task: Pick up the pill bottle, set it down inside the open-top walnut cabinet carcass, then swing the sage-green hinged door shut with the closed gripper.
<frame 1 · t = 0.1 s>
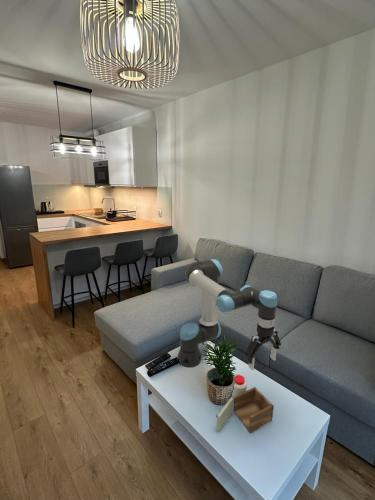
hand: (262, 363, 124), 28 cm above the table, fingers open, 13 cm apart
pill bottle: (238, 395, 140), on the table
carcass: (252, 415, 129), on the table
door: (224, 412, 125), point 5 cm above the table, hinge at 65.0°
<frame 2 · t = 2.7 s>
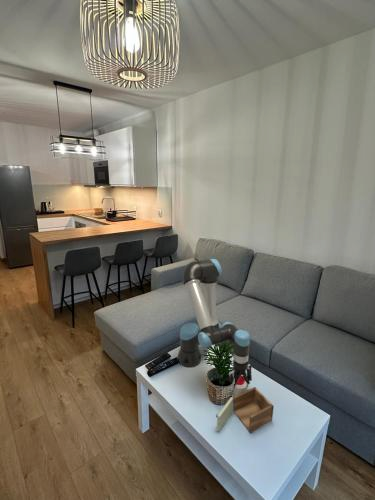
hand: (238, 394, 140), 0 cm above the table, fingers closed on pill bottle, 8 cm apart
pill bottle: (238, 395, 140), on the table, touching gripper
everything else where it was.
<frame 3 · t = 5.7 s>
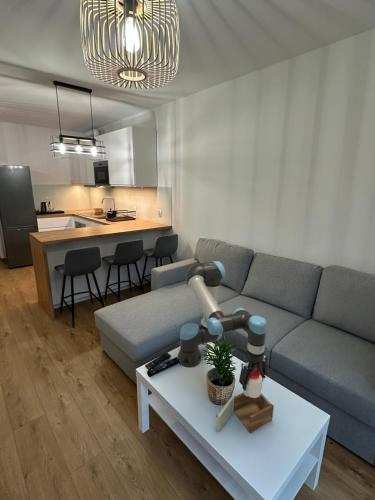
hand: (252, 390, 123), 16 cm above the table, fingers closed on pill bottle, 8 cm apart
pill bottle: (252, 391, 124), point 15 cm above the table, touching gripper
everything else where it was.
when the fingers open (3 cm above the table, at t = 8.3 s): pill bottle drops 2 cm, resting on carcass.
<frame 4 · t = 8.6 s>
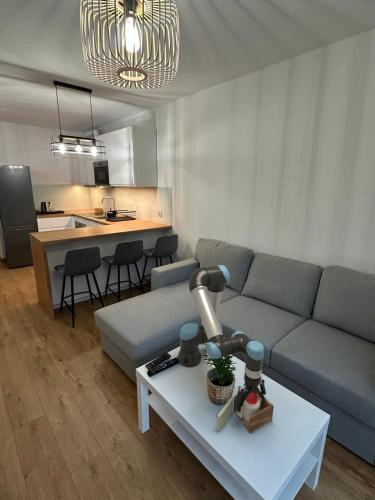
hand: (248, 411, 127), 4 cm above the table, fingers open, 10 cm apart
pill bottle: (250, 415, 128), point 1 cm above the table, touching carcass
everything else where it was.
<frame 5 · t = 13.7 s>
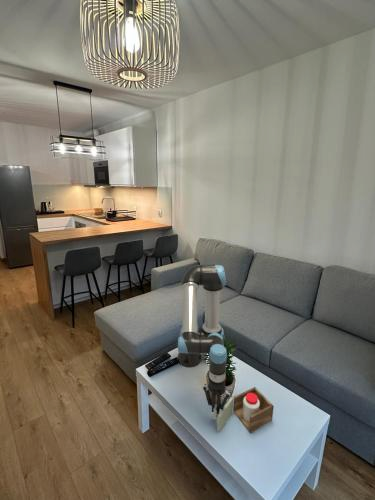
hand: (215, 417, 126), 2 cm above the table, fingers closed
door: (224, 412, 125), point 5 cm above the table, hinge at 64.3°, touching gripper
everything else where it was.
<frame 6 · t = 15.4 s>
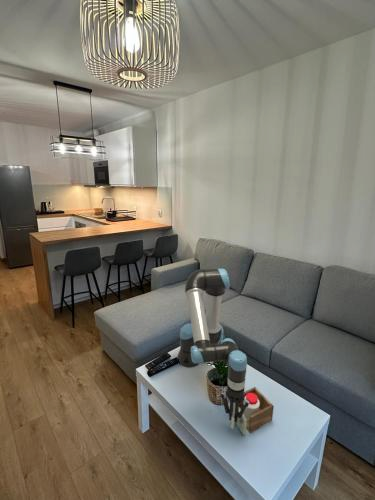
hand: (232, 425, 121), 2 cm above the table, fingers closed
door: (236, 415, 124), point 5 cm above the table, hinge at 9.3°, touching gripper
everything else where it was.
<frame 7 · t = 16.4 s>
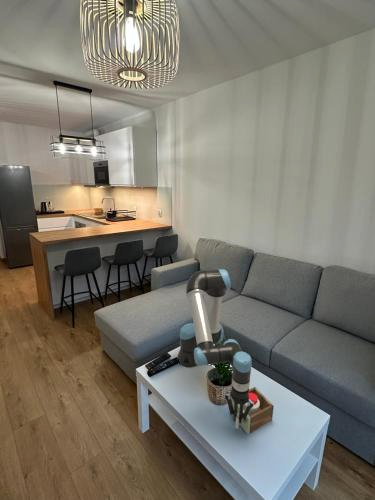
hand: (237, 426, 121), 2 cm above the table, fingers closed
door: (238, 415, 124), point 5 cm above the table, hinge at -0.1°, touching gripper
everything else where it was.
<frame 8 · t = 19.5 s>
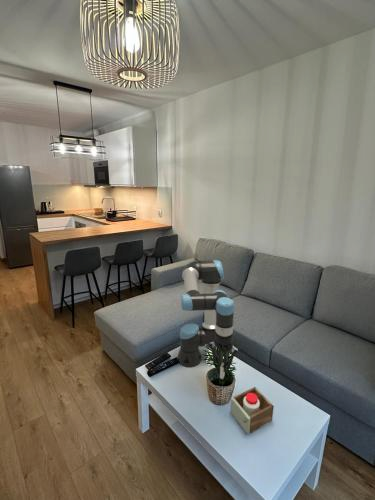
hand: (222, 376, 121), 24 cm above the table, fingers closed
door: (238, 415, 124), point 5 cm above the table, hinge at -0.1°
everything else where it was.
at the end: door at +0° (first picture: +65°); pill bottle inside the target area on the carcass (0.4 cm from its centre), point 0.8 cm above the carcass's base; pill bottle tilted 0° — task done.
